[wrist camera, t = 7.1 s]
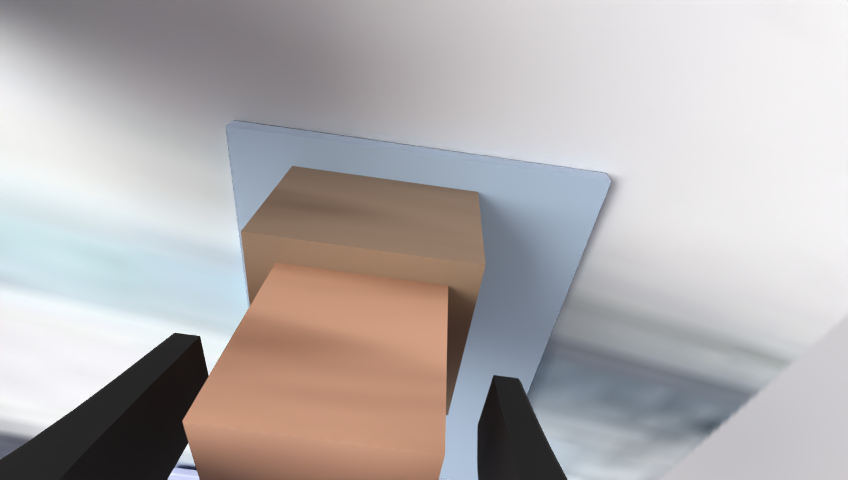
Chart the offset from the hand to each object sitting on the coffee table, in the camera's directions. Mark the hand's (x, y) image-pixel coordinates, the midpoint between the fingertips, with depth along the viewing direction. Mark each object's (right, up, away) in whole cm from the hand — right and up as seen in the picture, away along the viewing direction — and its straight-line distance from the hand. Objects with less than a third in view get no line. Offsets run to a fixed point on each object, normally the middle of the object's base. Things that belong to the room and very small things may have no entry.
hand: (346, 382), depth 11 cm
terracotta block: (0, +1, +1) cm, 2 cm away
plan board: (+1, -1, +8) cm, 8 cm away
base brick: (0, +3, +5) cm, 6 cm away
